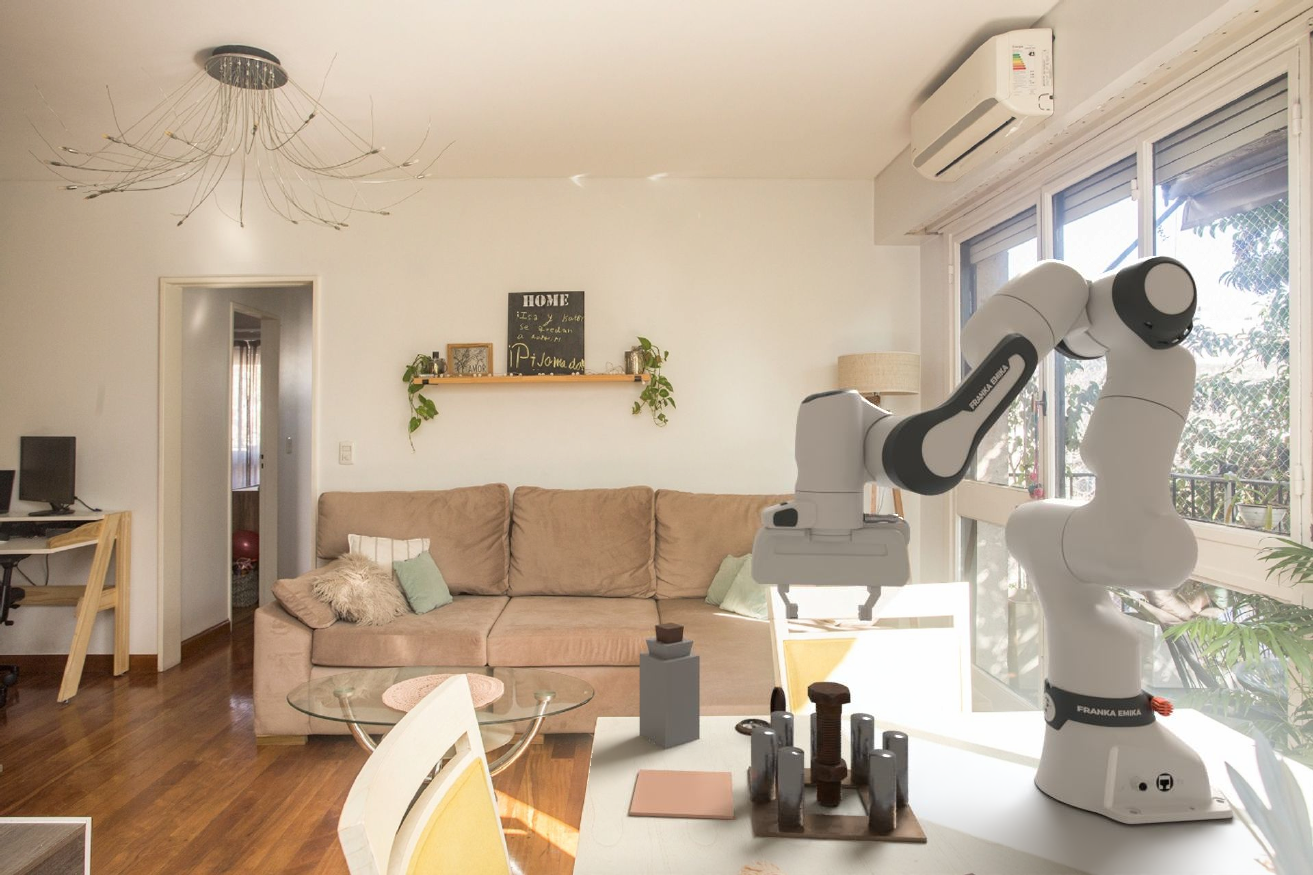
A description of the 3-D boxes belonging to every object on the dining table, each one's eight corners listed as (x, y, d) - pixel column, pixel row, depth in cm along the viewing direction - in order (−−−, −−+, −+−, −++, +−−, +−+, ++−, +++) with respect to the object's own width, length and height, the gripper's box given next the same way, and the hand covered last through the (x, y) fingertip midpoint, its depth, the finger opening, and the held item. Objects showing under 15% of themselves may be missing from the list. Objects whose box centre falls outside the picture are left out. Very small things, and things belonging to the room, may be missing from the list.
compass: (731, 726, 130) (731, 682, 130) (777, 724, 131) (777, 680, 131) (742, 745, 122) (742, 698, 122) (791, 742, 123) (791, 696, 123)
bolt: (853, 813, 100) (853, 694, 100) (813, 812, 100) (813, 693, 100) (843, 792, 106) (843, 680, 106) (805, 792, 106) (805, 680, 106)
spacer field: (891, 774, 111) (891, 710, 112) (927, 841, 93) (927, 765, 93) (747, 769, 113) (747, 706, 113) (754, 835, 94) (754, 759, 94)
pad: (731, 774, 111) (731, 772, 111) (733, 818, 98) (733, 815, 98) (639, 772, 112) (639, 769, 112) (629, 815, 99) (629, 811, 99)
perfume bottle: (639, 738, 125) (639, 624, 125) (673, 729, 129) (673, 619, 129) (665, 751, 120) (665, 632, 120) (699, 741, 124) (699, 626, 124)
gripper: (904, 512, 105) (903, 615, 105) (750, 510, 107) (749, 612, 107) (916, 516, 99) (915, 626, 99) (752, 514, 101) (751, 622, 101)
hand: (828, 619), depth 103 cm, fingers open, 8 cm apart
